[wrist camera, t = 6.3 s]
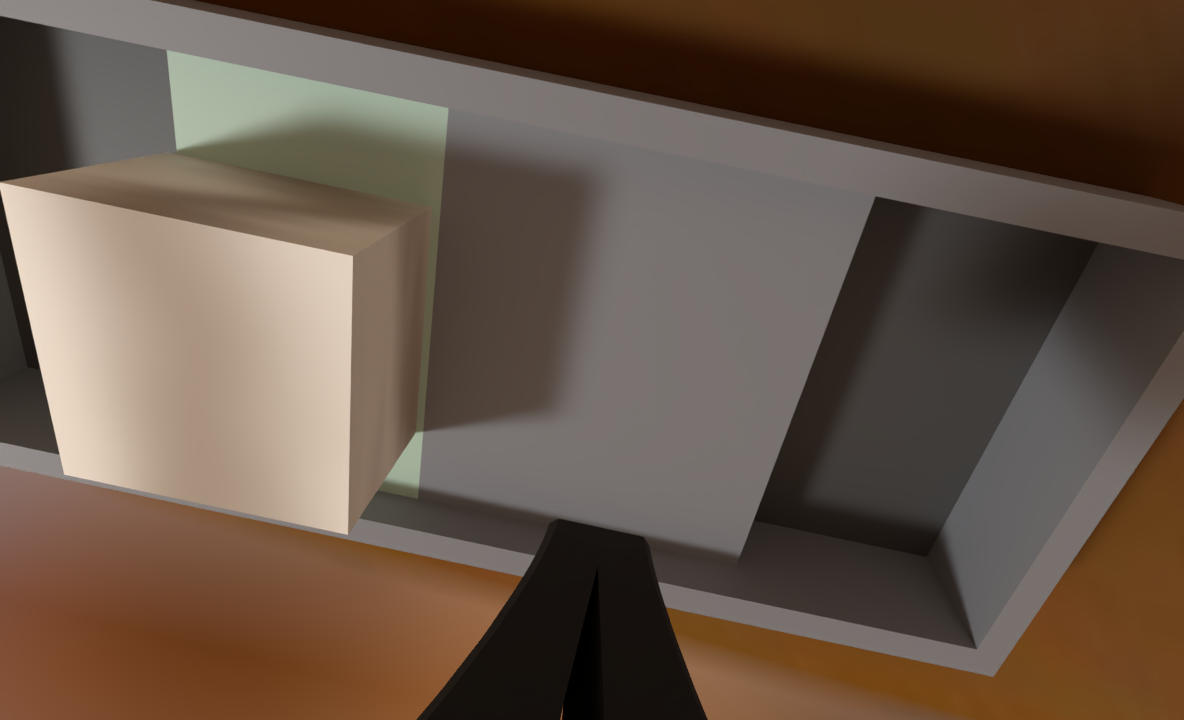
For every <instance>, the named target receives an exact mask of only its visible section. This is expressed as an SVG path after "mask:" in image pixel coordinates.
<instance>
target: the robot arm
mask: <svg viewBox="0 0 1184 720" xmlns="http://www.w3.org/2000/svg"><path fill="white" fill-rule="evenodd" d="M562 708H563V715H562V720H708V719H707V717H706V715H705V712H704V710H703V707H702V705H701V703H700V700H699V698H698V695H697V693H696V690H695V688H694V685H693V682H692V680H691V677H690V675H689V672H688V669H687V666H686V664H685V661H684V659H683V656H682V653H681V651H680V648H679V645H678V643H677V640H676V637H675V634H674V631H673V628H672V625H671V622H670V619H669V616H668V613H667V610H666V607H665V604H664V600H663V597H662V594H661V590H660V587H659V584H658V580H657V576H656V573H655V569H654V565H653V560H652V556H651V552H650V546H649V544H648V542H647V541H646V539H645V538H644V537H643V536H638V535H634V534H629V533H624V532H619V531H615V530H610V529H605V528H601V527H596V526H591V525H587V524H582V523H577V522H573V521H568V520H563V519H559V518H558V519H556V520H554V521H553V522H551V523H549V525H548V528H547V531H546V534H545V536H544V538H543V541H542V543H541V545H540V547H539V549H538V551H537V553H536V555H535V557H534V559H533V560H532V562H531V564H530V566H529V567H528V569H527V571H526V572H525V574H524V576H523V577H522V579H521V581H520V582H519V584H518V586H517V587H516V589H515V590H514V592H513V593H512V595H511V596H510V598H509V599H508V601H507V602H506V604H505V605H504V607H503V608H502V610H501V611H500V613H499V614H498V616H497V617H496V619H495V620H494V621H493V623H492V625H491V626H490V627H489V629H488V630H487V632H486V633H485V635H484V636H483V637H482V639H481V640H480V641H479V643H478V644H477V645H476V646H475V648H474V649H473V650H472V651H471V653H470V654H469V655H468V657H467V658H466V659H465V661H464V662H463V663H462V665H461V666H460V667H459V668H458V669H457V671H456V672H455V673H454V675H453V676H452V677H451V679H450V680H449V681H448V682H447V684H446V685H445V687H444V688H443V689H442V690H441V691H440V692H439V694H438V695H437V696H436V697H435V698H434V700H433V701H432V702H431V703H430V704H429V706H428V707H427V708H426V709H425V710H424V711H423V713H422V714H421V715H420V716H419V717H418V719H417V720H560V718H561V713H562Z"/></svg>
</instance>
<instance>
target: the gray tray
mask: <svg viewBox="0 0 1184 720" xmlns="http://www.w3.org/2000/svg"><path fill="white" fill-rule="evenodd" d="M166 152H170V153H175V154H180V155H185V156H190V157H194V158H199V159H204V160H209V161H214V162H219V163H223V164H228V165H233V166H238V167H243V168H247V169H252V170H257V171H262V172H267V173H272V174H276V175H281V176H286V177H291V178H296V179H301V180H305V181H310V182H315V183H320V184H325V185H329V186H334V187H339V188H344V189H349V190H354V191H358V192H363V193H368V194H373V195H378V196H382V197H387V198H392V199H397V200H402V201H407V202H411V203H416V204H421V205H426V206H431V207H432V215H431V229H430V243H429V256H428V270H427V284H426V298H425V312H424V326H423V340H422V353H421V367H420V381H419V395H418V409H417V423H416V433H415V435H414V436H413V438H412V439H411V441H410V442H409V444H408V445H407V447H406V448H405V450H404V451H403V453H402V454H401V456H400V457H399V459H398V460H397V462H396V463H395V465H394V466H393V468H392V469H391V471H390V472H389V474H388V475H387V477H386V478H385V480H384V481H383V483H382V484H381V486H380V487H379V489H378V490H377V492H376V493H375V495H374V496H373V498H372V499H371V501H370V502H369V504H368V505H367V507H366V508H365V510H364V511H363V513H362V514H361V516H360V517H359V519H358V521H357V522H356V524H355V525H354V527H353V528H352V530H351V531H350V533H349V534H348V535H346V534H341V533H337V532H332V531H327V530H323V529H318V528H313V527H308V526H304V525H299V524H294V523H290V522H285V521H280V520H275V519H271V518H266V517H261V516H257V515H252V514H247V513H243V512H238V511H233V510H228V509H224V508H219V507H214V506H210V505H205V504H200V503H195V502H191V501H186V500H181V499H177V498H172V497H167V496H162V495H158V494H153V493H148V492H144V491H139V490H134V489H130V488H125V487H120V486H115V485H111V484H106V483H101V482H97V481H92V480H87V479H82V478H78V477H73V476H68V475H64V471H63V467H62V463H61V458H60V454H59V449H58V445H57V440H56V436H55V431H54V427H53V422H52V418H51V414H50V409H49V405H48V400H47V396H46V391H45V387H44V382H43V378H42V373H41V369H40V364H39V360H38V356H37V351H36V347H35V342H34V338H33V333H32V329H31V324H30V320H29V315H28V311H27V307H26V302H25V298H24V293H23V289H22V284H21V280H20V275H19V271H18V266H17V262H16V258H15V253H14V249H13V244H12V240H11V235H10V231H9V226H8V222H7V217H6V213H5V208H4V204H3V200H2V195H1V191H0V466H5V467H9V468H14V469H19V470H23V471H29V472H33V473H37V474H42V475H47V476H52V477H57V478H61V479H66V480H70V481H76V482H80V483H85V484H89V485H94V486H99V487H103V488H108V489H113V490H117V491H122V492H127V493H132V494H136V495H141V496H146V497H150V498H155V499H160V500H165V501H169V502H174V503H179V504H183V505H188V506H193V507H197V508H202V509H207V510H212V511H216V512H221V513H226V514H230V515H235V516H240V517H244V518H249V519H254V520H259V521H263V522H268V523H273V524H277V525H282V526H287V527H292V528H296V529H301V530H306V531H310V532H315V533H320V534H324V535H329V536H334V537H339V538H343V539H348V540H353V541H357V542H362V543H367V544H371V545H376V546H381V547H386V548H390V549H395V550H400V551H404V552H409V553H414V554H419V555H423V556H428V557H433V558H437V559H442V560H447V561H451V562H456V563H461V564H466V565H470V566H475V567H480V568H484V569H489V570H494V571H499V572H503V573H508V574H513V575H517V576H522V577H523V576H524V574H525V572H526V571H527V569H528V567H529V566H530V564H531V562H532V560H533V559H534V557H535V555H536V553H537V551H538V549H539V547H540V545H541V543H542V541H543V538H544V536H545V534H546V531H547V528H548V525H549V523H551V522H553V521H554V520H556V519H558V518H559V519H563V520H568V521H573V522H577V523H582V524H587V525H591V526H596V527H601V528H605V529H610V530H615V531H619V532H624V533H629V534H634V535H638V536H643V537H644V538H645V539H646V541H647V542H648V544H649V546H650V552H651V556H652V560H653V565H654V569H655V573H656V576H657V580H658V584H659V587H660V590H661V594H662V597H663V600H664V604H665V607H668V608H673V609H677V610H682V611H687V612H691V613H696V614H701V615H706V616H710V617H715V618H720V619H724V620H729V621H734V622H738V623H743V624H748V625H753V626H757V627H762V628H767V629H771V630H776V631H781V632H785V633H790V634H795V635H800V636H804V637H809V638H814V639H818V640H823V641H828V642H833V643H837V644H842V645H847V646H851V647H856V648H861V649H865V650H870V651H875V652H880V653H884V654H889V655H894V656H898V657H903V658H908V659H912V660H917V661H922V662H927V663H931V664H936V665H941V666H945V667H950V668H955V669H960V670H964V671H969V672H974V673H978V674H983V675H988V676H992V677H993V676H994V675H995V673H996V672H997V671H998V669H999V668H1000V666H1001V665H1002V663H1003V662H1004V660H1005V659H1006V657H1007V656H1008V654H1009V653H1010V652H1011V650H1012V649H1013V647H1014V646H1015V644H1016V643H1017V641H1018V640H1019V638H1020V637H1021V635H1022V634H1023V633H1024V631H1025V630H1026V628H1027V627H1028V625H1029V624H1030V622H1031V621H1032V619H1033V618H1034V616H1035V615H1036V614H1037V612H1038V611H1039V609H1040V608H1041V606H1042V605H1043V603H1044V602H1045V600H1046V599H1047V597H1048V596H1049V594H1050V593H1051V592H1052V590H1053V589H1054V587H1055V586H1056V584H1057V583H1058V581H1059V580H1060V578H1061V577H1062V575H1063V574H1064V573H1065V571H1066V570H1067V568H1068V567H1069V565H1070V564H1071V562H1072V561H1073V559H1074V558H1075V556H1076V555H1077V554H1078V552H1079V551H1080V549H1081V548H1082V546H1083V545H1084V543H1085V542H1086V540H1087V539H1088V537H1089V536H1090V535H1091V533H1092V532H1093V530H1094V529H1095V527H1096V526H1097V524H1098V523H1099V521H1100V520H1101V518H1102V517H1103V516H1104V514H1105V513H1106V511H1107V510H1108V508H1109V507H1110V505H1111V504H1112V502H1113V501H1114V499H1115V498H1116V497H1117V495H1118V494H1119V492H1120V491H1121V489H1122V488H1123V486H1124V485H1125V483H1126V482H1127V480H1128V479H1129V478H1130V476H1131V475H1132V473H1133V472H1134V470H1135V469H1136V467H1137V466H1138V464H1139V463H1140V461H1141V460H1142V458H1143V457H1144V456H1145V454H1146V453H1147V451H1148V450H1149V448H1150V447H1151V445H1152V444H1153V442H1154V441H1155V439H1156V438H1157V437H1158V435H1159V434H1160V432H1161V431H1162V429H1163V428H1164V426H1165V425H1166V423H1167V422H1168V420H1169V419H1170V418H1171V416H1172V415H1173V413H1174V412H1175V410H1176V409H1177V407H1178V406H1179V404H1180V403H1181V401H1182V400H1183V399H1184V205H1180V204H1176V203H1172V202H1169V201H1165V200H1161V199H1157V198H1154V197H1149V196H1145V195H1140V194H1135V193H1130V192H1125V191H1120V190H1115V189H1110V188H1106V187H1101V186H1096V185H1091V184H1086V183H1081V182H1076V181H1072V180H1067V179H1062V178H1057V177H1052V176H1047V175H1042V174H1037V173H1033V172H1028V171H1023V170H1018V169H1013V168H1008V167H1003V166H998V165H994V164H989V163H984V162H979V161H974V160H969V159H964V158H959V157H955V156H950V155H945V154H940V153H935V152H930V151H925V150H921V149H916V148H911V147H906V146H901V145H896V144H891V143H886V142H882V141H877V140H872V139H867V138H862V137H857V136H852V135H847V134H843V133H838V132H833V131H828V130H823V129H818V128H813V127H809V126H804V125H799V124H794V123H789V122H784V121H779V120H774V119H770V118H765V117H760V116H755V115H750V114H745V113H740V112H735V111H731V110H726V109H721V108H716V107H711V106H706V105H701V104H696V103H692V102H687V101H682V100H677V99H672V98H667V97H662V96H658V95H653V94H648V93H643V92H638V91H633V90H628V89H623V88H619V87H614V86H609V85H604V84H599V83H594V82H589V81H584V80H580V79H575V78H570V77H565V76H560V75H555V74H550V73H545V72H541V71H536V70H531V69H526V68H521V67H516V66H511V65H507V64H502V63H497V62H492V61H487V60H482V59H477V58H472V57H468V56H463V55H458V54H453V53H448V52H443V51H438V50H433V49H429V48H424V47H419V46H414V45H409V44H404V43H399V42H394V41H390V40H385V39H380V38H375V37H370V36H365V35H360V34H356V33H351V32H346V31H341V30H336V29H331V28H326V27H321V26H317V25H312V24H307V23H302V22H297V21H292V20H287V19H282V18H278V17H273V16H268V15H263V14H258V13H253V12H248V11H244V10H239V9H234V8H229V7H224V6H219V5H214V4H209V3H205V2H200V1H195V0H0V182H2V181H8V180H14V179H19V178H25V177H31V176H36V175H42V174H48V173H53V172H59V171H65V170H70V169H76V168H82V167H87V166H93V165H99V164H104V163H110V162H115V161H121V160H127V159H132V158H138V157H144V156H149V155H155V154H161V153H166Z"/></svg>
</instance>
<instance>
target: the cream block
mask: <svg viewBox="0 0 1184 720" xmlns="http://www.w3.org/2000/svg"><path fill="white" fill-rule="evenodd" d="M0 191H1V195H2V200H3V204H4V208H5V213H6V217H7V222H8V226H9V231H10V235H11V240H12V244H13V249H14V253H15V258H16V262H17V266H18V271H19V275H20V280H21V284H22V289H23V293H24V298H25V302H26V307H27V311H28V315H29V320H30V324H31V329H32V333H33V338H34V342H35V347H36V351H37V356H38V360H39V364H40V369H41V373H42V378H43V382H44V387H45V391H46V396H47V400H48V405H49V409H50V414H51V418H52V422H53V427H54V431H55V436H56V440H57V445H58V449H59V454H60V458H61V463H62V467H63V471H64V475H68V476H73V477H78V478H82V479H87V480H92V481H97V482H101V483H106V484H111V485H115V486H120V487H125V488H130V489H134V490H139V491H144V492H148V493H153V494H158V495H162V496H167V497H172V498H177V499H181V500H186V501H191V502H195V503H200V504H205V505H210V506H214V507H219V508H224V509H228V510H233V511H238V512H243V513H247V514H252V515H257V516H261V517H266V518H271V519H275V520H280V521H285V522H290V523H294V524H299V525H304V526H308V527H313V528H318V529H323V530H327V531H332V532H337V533H341V534H346V535H348V534H349V533H350V531H351V530H352V528H353V527H354V525H355V524H356V522H357V521H358V519H359V517H360V516H361V514H362V513H363V511H364V510H365V508H366V507H367V505H368V504H369V502H370V501H371V499H372V498H373V496H374V495H375V493H376V492H377V490H378V489H379V487H380V486H381V484H382V483H383V481H384V480H385V478H386V477H387V475H388V474H389V472H390V471H391V469H392V468H393V466H394V465H395V463H396V462H397V460H398V459H399V457H400V456H401V454H402V453H403V451H404V450H405V448H406V447H407V445H408V444H409V442H410V441H411V439H412V438H413V436H414V435H415V433H416V423H417V409H418V395H419V381H420V367H421V353H422V340H423V326H424V312H425V298H426V284H427V270H428V256H429V243H430V229H431V215H432V207H431V206H426V205H421V204H416V203H411V202H407V201H402V200H397V199H392V198H387V197H382V196H378V195H373V194H368V193H363V192H358V191H354V190H349V189H344V188H339V187H334V186H329V185H325V184H320V183H315V182H310V181H305V180H301V179H296V178H291V177H286V176H281V175H276V174H272V173H267V172H262V171H257V170H252V169H247V168H243V167H238V166H233V165H228V164H223V163H219V162H214V161H209V160H204V159H199V158H194V157H190V156H185V155H180V154H175V153H170V152H166V153H161V154H155V155H149V156H144V157H138V158H132V159H127V160H121V161H115V162H110V163H104V164H99V165H93V166H87V167H82V168H76V169H70V170H65V171H59V172H53V173H48V174H42V175H36V176H31V177H25V178H19V179H14V180H8V181H2V182H0Z"/></svg>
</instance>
